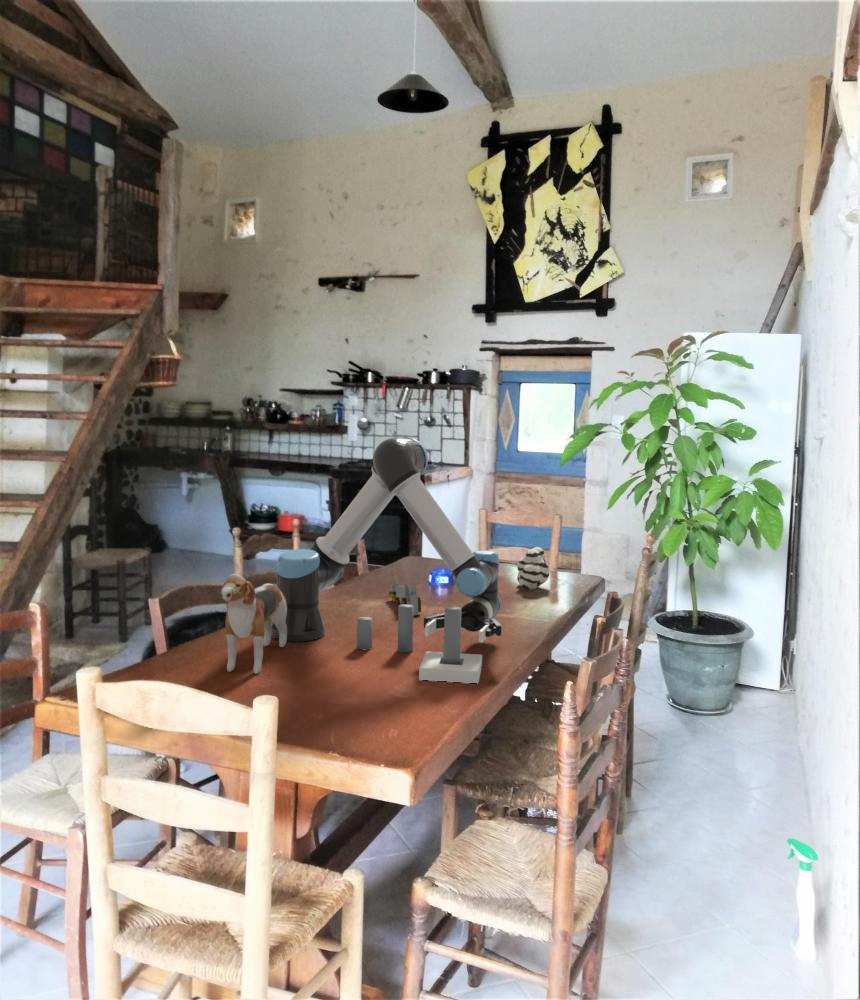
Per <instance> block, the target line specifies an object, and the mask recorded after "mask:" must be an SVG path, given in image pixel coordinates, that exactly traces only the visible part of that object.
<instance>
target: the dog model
mask: <svg viewBox="0 0 860 1000" xmlns="http://www.w3.org/2000/svg"><path fill="white" fill-rule="evenodd" d="M220 596H221V599H222V600H223V601H224V603H226V604H227V611H226V616H225V636H226V643H227V644H226V645H227V663H226V671H227V672H228V673H231V672H233V671H234V670H235V667H236V661H237V654H238V653H237V651H238V650H237V647H238V640H239V638H240V639H243V638H248V637H250V636H252V642H253V659H254V660H253V662H254V664H253V670H252V671H253V674H255V675H257V674H260V672H261V670H262V665H263V664H262V663H263V659H264V647H265V646H267V647H268V645H269V646H270V644H271V642H272V637H271V634H272V627H271V624H272V623H271V621H272V622H273V623H274V624H275V626H276V628H277V629H278V631H279V640H278V646H279V648H280V647H282V648H284V647H285V646H286V644H287V642H288V641H287V626H286V614H287V603H286V599H285V597H284V595H283V592H281V590H280V589H279V588H278V587H277V585H275V584H273V583H269V582H268V583H264V584H260V585H259V586H257V587H255V588H254V585H253V584H252V582H250V581H249V580H247V579H245V578H244V577H243V576H241V575H240V574H238V573H232V574H230V575H228V577H227V578H226V579H225V580H224V583H223V585H222V587H221V590H220Z"/></svg>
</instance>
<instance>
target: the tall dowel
mask: <svg viewBox="0 0 860 1000" xmlns="http://www.w3.org/2000/svg"><path fill="white" fill-rule="evenodd" d="M461 608H462V607H460V606H447V607H444V613H445V623H444V628H443V631H444V632H443V652H444V658H443V664H451V665H460V653H461V639H462V638H461V637H462V636H461V633H462V627H461Z"/></svg>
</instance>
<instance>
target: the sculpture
mask: <svg viewBox="0 0 860 1000" xmlns="http://www.w3.org/2000/svg"><path fill="white" fill-rule="evenodd" d="M516 567H517V571H518V573H517V579H516V580H517V582H518V584H519V587H520V588H522V589H524V590H535V589H536V588H538V587H540V586H541V585H543V584H545V583H546V582H547V581H548V580H549V577H550V573H551V572H550V567H549V564H548V562H547V561H546V559H545V551H544V548H542V547H540V546H535V547H533V548H531V549H529V550H528V551H526V553H525V555H524V556H523V557H522V558H521V559H519V560H518V562H517V566H516Z"/></svg>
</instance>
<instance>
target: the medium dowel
mask: <svg viewBox="0 0 860 1000" xmlns="http://www.w3.org/2000/svg"><path fill="white" fill-rule="evenodd" d="M397 611H398V612H397V613H398V614H397V619H398V620H397V621H398V622H397V652H399V653H403V652H408V653H412V652H413V651H412V650H414V649H413V648H414V647H413V645H414V644H413V643H414V615H413V613H414V606H413V605H407V604H404V605H401V604H399V605H398V610H397ZM411 651H412V652H411Z"/></svg>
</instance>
